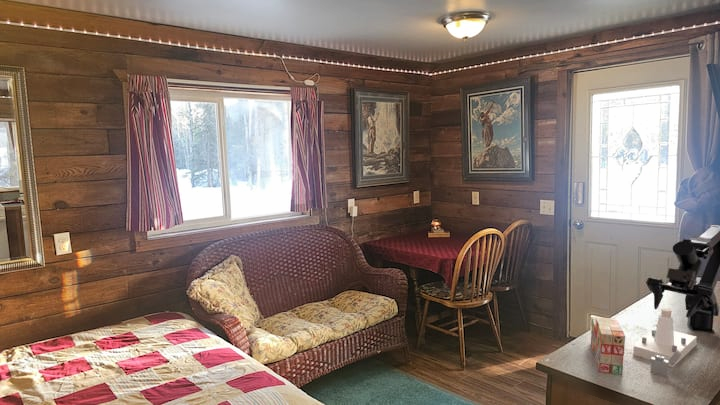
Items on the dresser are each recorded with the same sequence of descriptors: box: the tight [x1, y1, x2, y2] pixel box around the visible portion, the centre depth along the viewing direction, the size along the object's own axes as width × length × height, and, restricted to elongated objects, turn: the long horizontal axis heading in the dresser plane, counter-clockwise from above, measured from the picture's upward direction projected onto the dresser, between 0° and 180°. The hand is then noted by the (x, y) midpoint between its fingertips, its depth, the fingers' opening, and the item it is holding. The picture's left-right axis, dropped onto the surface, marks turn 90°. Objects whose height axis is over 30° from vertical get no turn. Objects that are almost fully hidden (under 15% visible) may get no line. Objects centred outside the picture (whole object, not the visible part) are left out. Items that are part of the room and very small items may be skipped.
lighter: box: [650, 350, 682, 377], centre depth 137 cm, size 7×2×8 cm, turn 53°
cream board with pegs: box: [632, 329, 697, 368], centre depth 153 cm, size 22×11×5 cm, turn 130°
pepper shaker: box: [654, 308, 675, 346], centre depth 151 cm, size 5×5×11 cm
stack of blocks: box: [590, 316, 626, 376], centre depth 148 cm, size 21×6×12 cm, turn 161°
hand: (670, 312), depth 153 cm, fingers open, 9 cm apart
